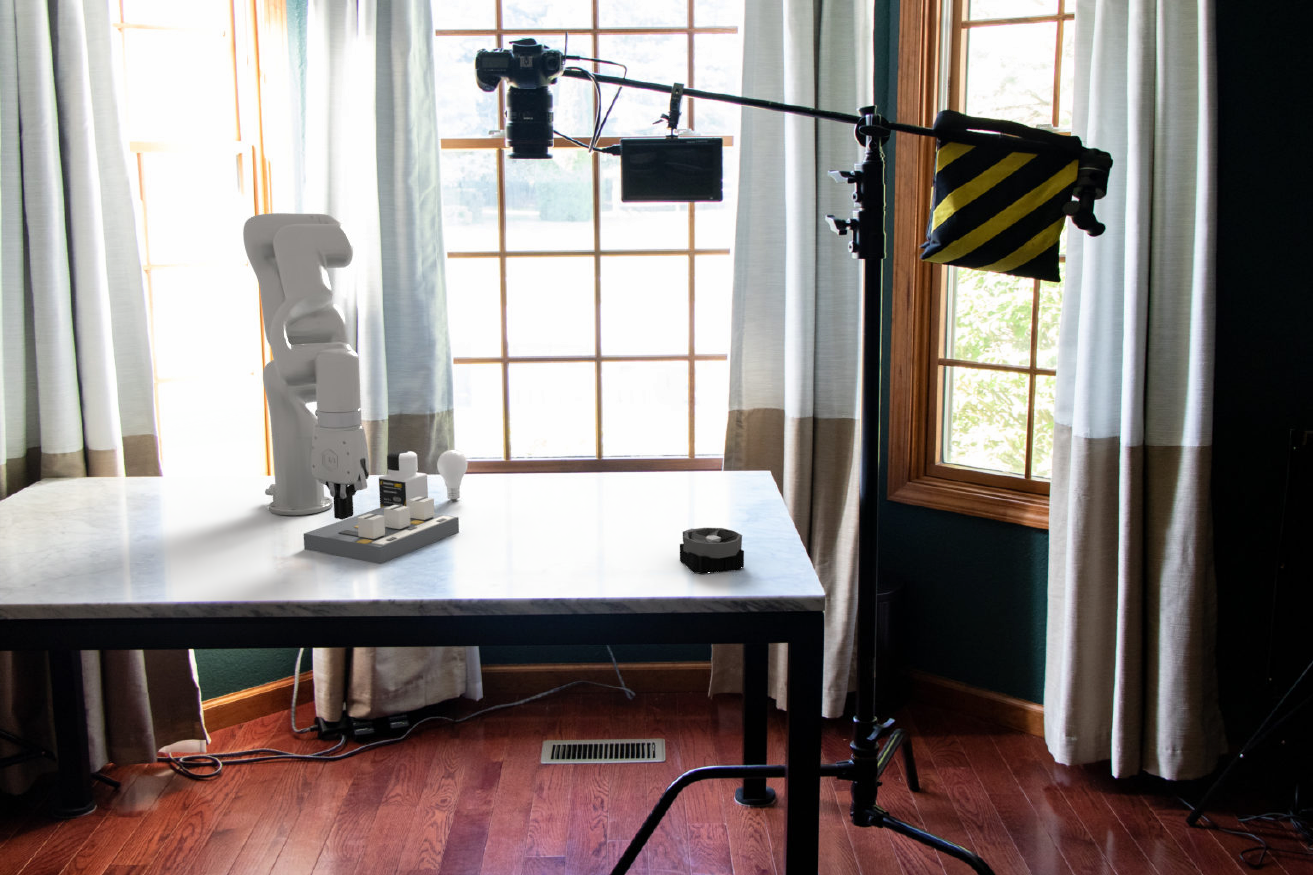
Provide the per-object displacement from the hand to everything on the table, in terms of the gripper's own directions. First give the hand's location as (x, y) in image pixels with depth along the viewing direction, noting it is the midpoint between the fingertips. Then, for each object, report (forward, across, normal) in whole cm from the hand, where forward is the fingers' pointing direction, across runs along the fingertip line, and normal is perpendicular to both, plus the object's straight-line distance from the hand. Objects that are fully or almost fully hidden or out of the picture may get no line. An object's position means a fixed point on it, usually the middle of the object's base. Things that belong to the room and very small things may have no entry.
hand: (344, 516), depth 197 cm
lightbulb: (+7, -3, +36) cm, 37 cm away
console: (+6, +4, +6) cm, 9 cm away
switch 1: (+2, +7, -1) cm, 7 cm away
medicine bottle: (+7, -8, +26) cm, 29 cm away
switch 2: (+2, +7, +6) cm, 10 cm away
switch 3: (+3, +7, +13) cm, 15 cm away
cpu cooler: (+4, +64, +22) cm, 68 cm away
